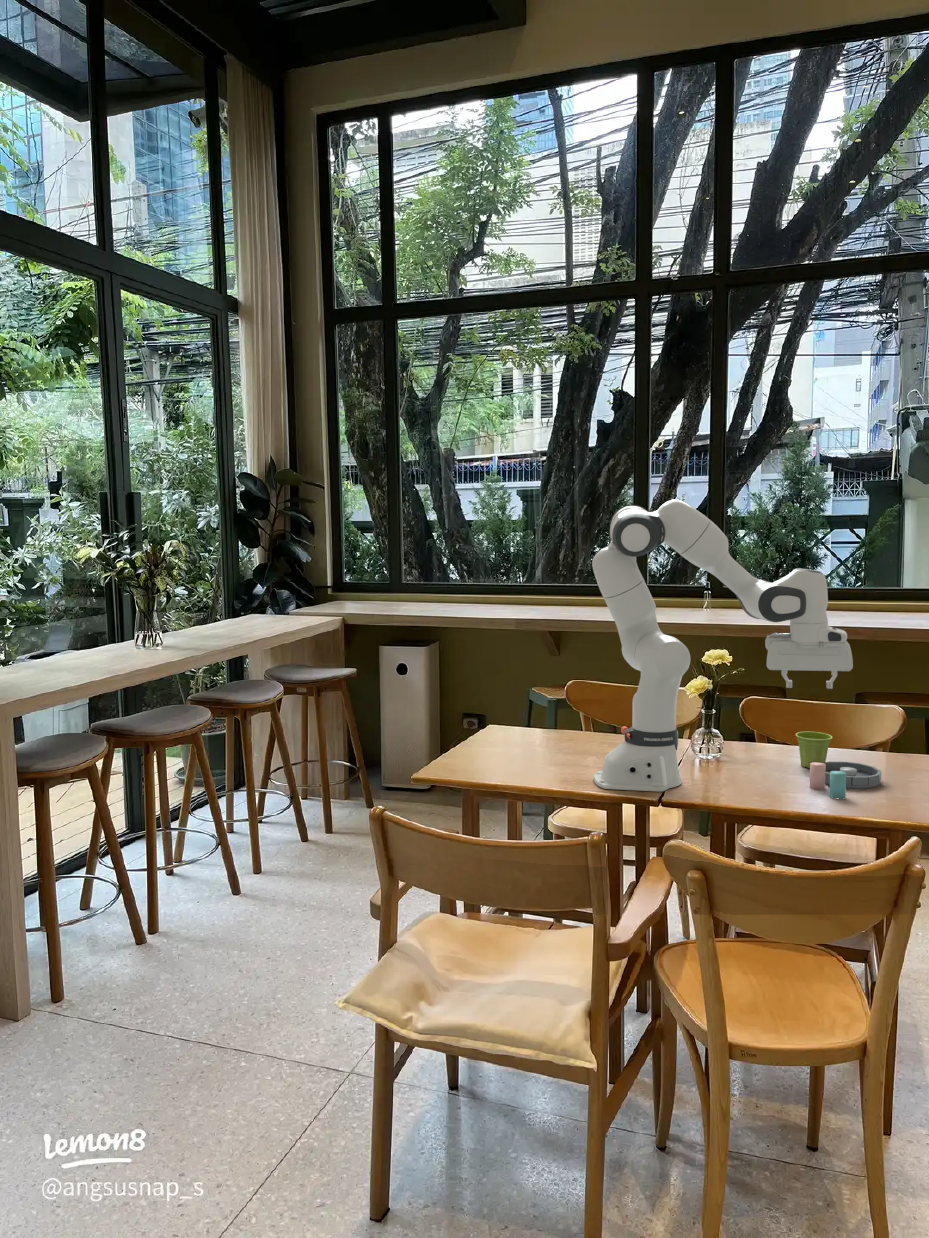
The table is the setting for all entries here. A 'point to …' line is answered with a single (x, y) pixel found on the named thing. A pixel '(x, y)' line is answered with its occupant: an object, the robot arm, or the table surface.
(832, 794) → the teal block
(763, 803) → the table surface
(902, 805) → the table surface
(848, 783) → the groove tray
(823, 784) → the pink cylinder
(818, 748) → the plant pot
